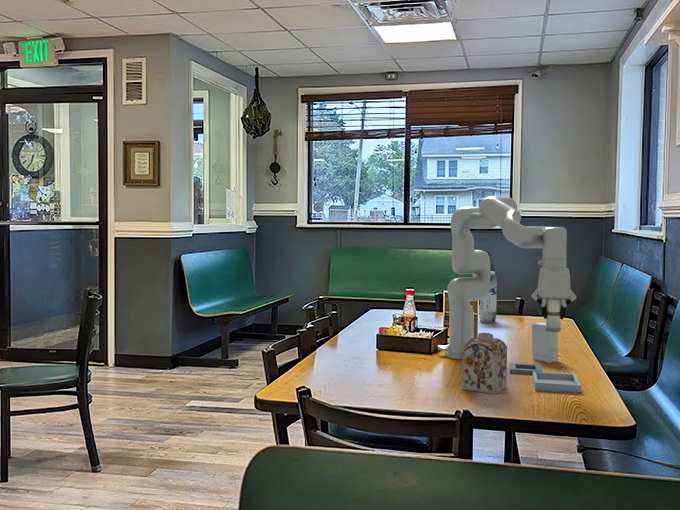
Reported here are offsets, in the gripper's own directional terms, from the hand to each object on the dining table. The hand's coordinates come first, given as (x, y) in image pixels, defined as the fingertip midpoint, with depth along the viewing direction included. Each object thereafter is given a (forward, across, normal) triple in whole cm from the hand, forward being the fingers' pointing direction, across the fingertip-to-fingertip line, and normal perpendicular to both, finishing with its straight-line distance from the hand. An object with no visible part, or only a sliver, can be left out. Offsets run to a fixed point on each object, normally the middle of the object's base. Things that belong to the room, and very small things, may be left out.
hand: (553, 318), depth 222 cm
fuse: (+4, 0, 0) cm, 4 cm away
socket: (+22, -8, +16) cm, 28 cm away
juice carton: (+21, -22, +131) cm, 134 cm away
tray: (+22, +1, -2) cm, 22 cm away
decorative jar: (+22, -22, -12) cm, 34 cm away
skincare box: (+22, 0, +36) cm, 42 cm away
